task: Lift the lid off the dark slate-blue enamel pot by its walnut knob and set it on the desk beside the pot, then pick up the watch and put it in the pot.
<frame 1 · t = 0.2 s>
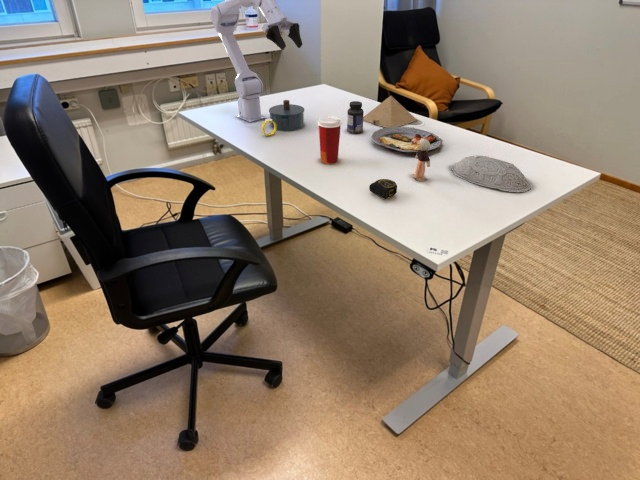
hand: (292, 47, 153), 31 cm above the table, tool tilted 45°, fingers open, 7 cm apart
lid: (286, 110, 176), point 6 cm above the table, touching pot
tape measure: (383, 196, 128), on the table
pot: (287, 125, 179), on the table
food plate: (406, 144, 162), on the table
model pyramid: (388, 120, 185), on the table
grandmother figurine: (419, 179, 138), on the table
grey oval dome: (489, 177, 139), on the table
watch: (269, 135, 170), on the table
paper cup: (329, 161, 149), on the table
pill bottle: (354, 131, 173), on the table
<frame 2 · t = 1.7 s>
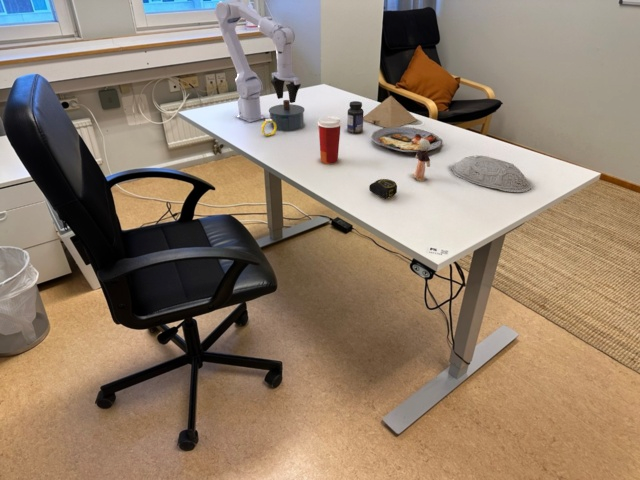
hand: (286, 100, 173), 10 cm above the table, tool pointing down, fingers open, 7 cm apart
nothing on the table moved.
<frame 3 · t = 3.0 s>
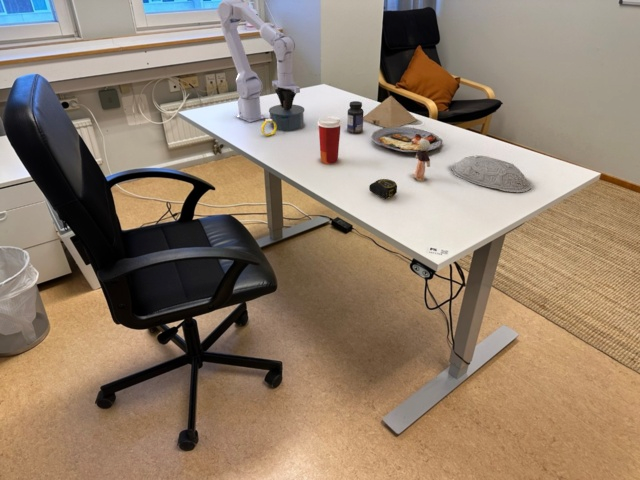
hand: (286, 108, 175), 7 cm above the table, tool pointing down, fingers closed on lid, 2 cm apart
lid: (286, 110, 176), point 6 cm above the table, touching gripper, pot
everything else where it was.
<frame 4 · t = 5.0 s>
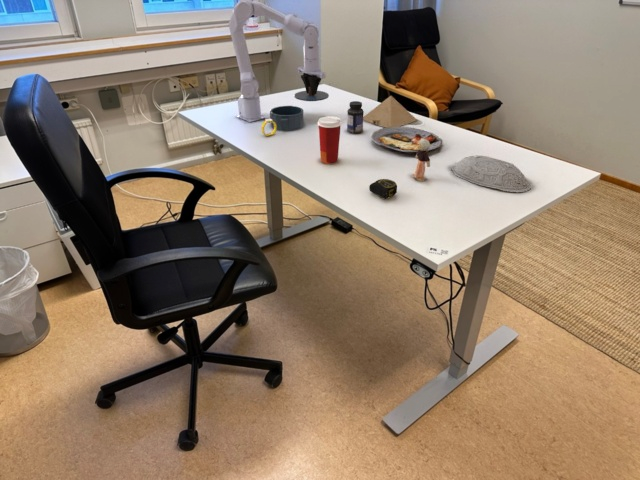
hand: (311, 93, 181), 10 cm above the table, tool pointing down, fingers closed on lid, 2 cm apart
lid: (311, 96, 181), point 9 cm above the table, touching gripper
everything else where it was.
when the fingers open (2 cm above the table, at t = 7.4 s): lid stays where it is, point 1 cm above the table.
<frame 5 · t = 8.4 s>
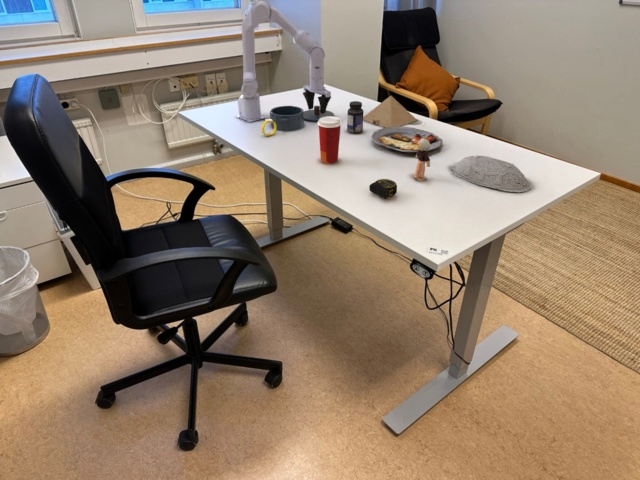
hand: (316, 111, 187), 3 cm above the table, tool pointing down, fingers open, 7 cm apart
lid: (316, 115, 188), point 1 cm above the table
everything else where it was.
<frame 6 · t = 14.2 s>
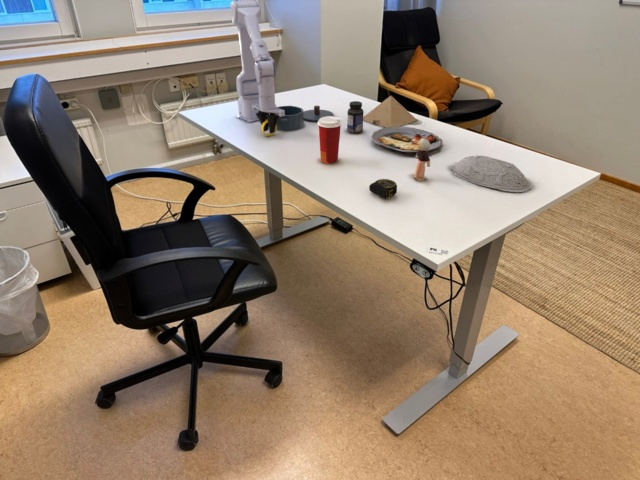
hand: (269, 131, 169), 1 cm above the table, tool pointing down, fingers closed on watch, 2 cm apart
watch: (269, 135, 170), on the table, touching gripper
everything else where it was.
when the fingers open (2 cm above the table, at t = 19.3 s): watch stays where it is, resting on pot.
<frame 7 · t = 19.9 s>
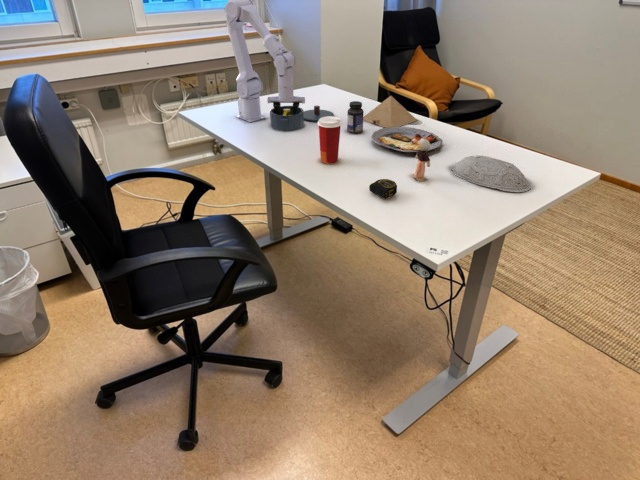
hand: (287, 121, 178), 2 cm above the table, tool pointing down, fingers open, 5 cm apart
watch: (287, 124, 179), resting on pot
everything else where it was.
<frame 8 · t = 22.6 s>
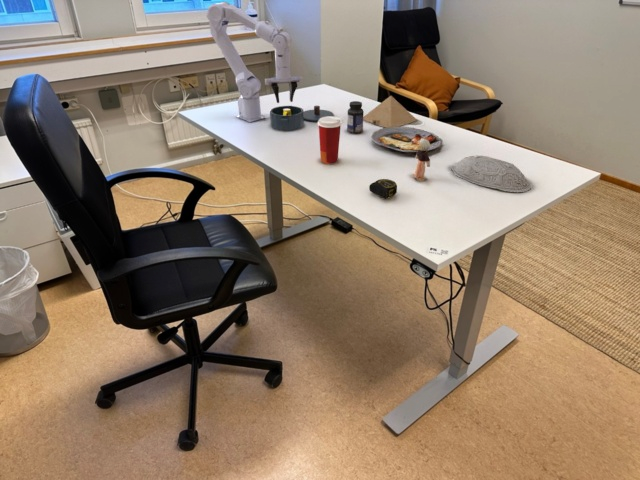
hand: (284, 101, 179), 8 cm above the table, tool pointing down, fingers open, 5 cm apart
nothing on the table moved.
at the end: lid inside the target area (0.0 cm from its centre), point 0.6 cm above the table; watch inside the target area in the pot (0.0 cm from its centre), point 0.3 cm above the pot's base; the gripper is holding nothing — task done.
